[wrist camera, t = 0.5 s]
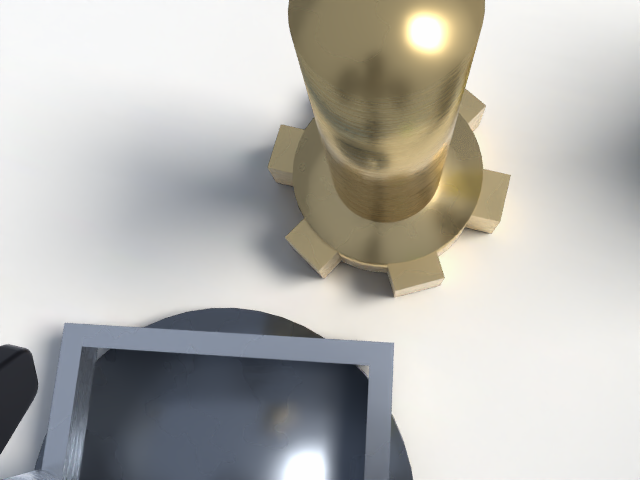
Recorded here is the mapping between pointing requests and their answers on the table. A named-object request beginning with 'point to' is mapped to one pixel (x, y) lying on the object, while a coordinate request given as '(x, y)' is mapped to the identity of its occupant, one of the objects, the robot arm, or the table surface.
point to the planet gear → (387, 137)
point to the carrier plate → (220, 403)
